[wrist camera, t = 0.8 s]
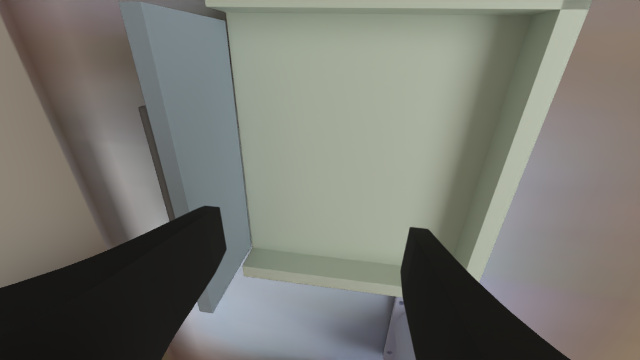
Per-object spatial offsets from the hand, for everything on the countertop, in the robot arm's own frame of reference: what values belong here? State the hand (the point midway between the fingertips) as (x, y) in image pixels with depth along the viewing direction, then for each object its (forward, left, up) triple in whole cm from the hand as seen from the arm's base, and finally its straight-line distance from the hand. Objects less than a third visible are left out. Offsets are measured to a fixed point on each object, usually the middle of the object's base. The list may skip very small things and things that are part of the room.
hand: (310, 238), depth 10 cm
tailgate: (0, +6, -8) cm, 10 cm away
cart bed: (0, -2, -9) cm, 10 cm away
